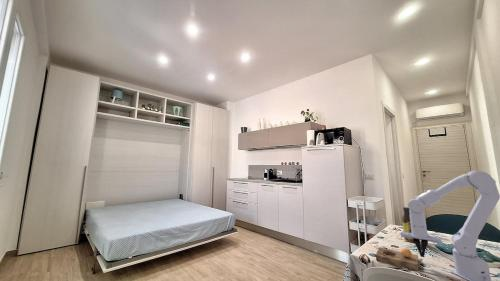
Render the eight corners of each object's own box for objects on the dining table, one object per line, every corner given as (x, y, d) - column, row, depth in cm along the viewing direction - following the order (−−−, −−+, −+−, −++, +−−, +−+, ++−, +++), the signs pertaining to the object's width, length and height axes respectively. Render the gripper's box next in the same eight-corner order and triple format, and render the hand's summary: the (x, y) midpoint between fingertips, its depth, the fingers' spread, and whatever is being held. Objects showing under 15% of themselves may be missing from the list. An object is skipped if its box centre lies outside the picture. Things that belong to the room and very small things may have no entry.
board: (418, 260, 98) (417, 254, 98) (418, 270, 89) (417, 264, 89) (379, 252, 108) (379, 247, 108) (376, 260, 99) (375, 255, 99)
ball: (414, 258, 94) (413, 249, 95) (406, 259, 94) (405, 250, 95) (407, 255, 98) (406, 246, 99) (399, 255, 98) (398, 246, 99)
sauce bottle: (412, 243, 120) (407, 208, 123) (401, 239, 126) (397, 206, 128) (420, 241, 122) (415, 207, 124) (409, 238, 127) (405, 206, 130)
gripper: (438, 226, 93) (443, 257, 91) (400, 221, 102) (403, 249, 100) (439, 229, 88) (444, 263, 86) (398, 224, 97) (402, 254, 95)
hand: (422, 256), depth 93 cm, fingers closed
